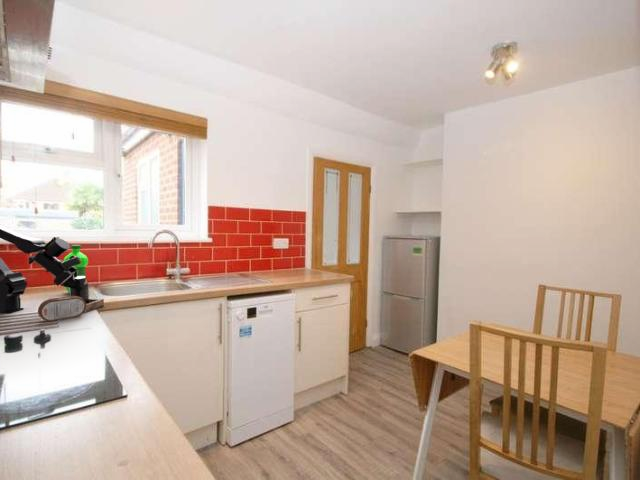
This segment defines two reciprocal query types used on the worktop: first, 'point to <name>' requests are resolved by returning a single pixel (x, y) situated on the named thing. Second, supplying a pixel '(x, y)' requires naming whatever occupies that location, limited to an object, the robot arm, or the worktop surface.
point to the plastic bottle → (82, 257)
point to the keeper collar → (94, 304)
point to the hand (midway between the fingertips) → (83, 288)
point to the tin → (61, 308)
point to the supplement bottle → (85, 291)
